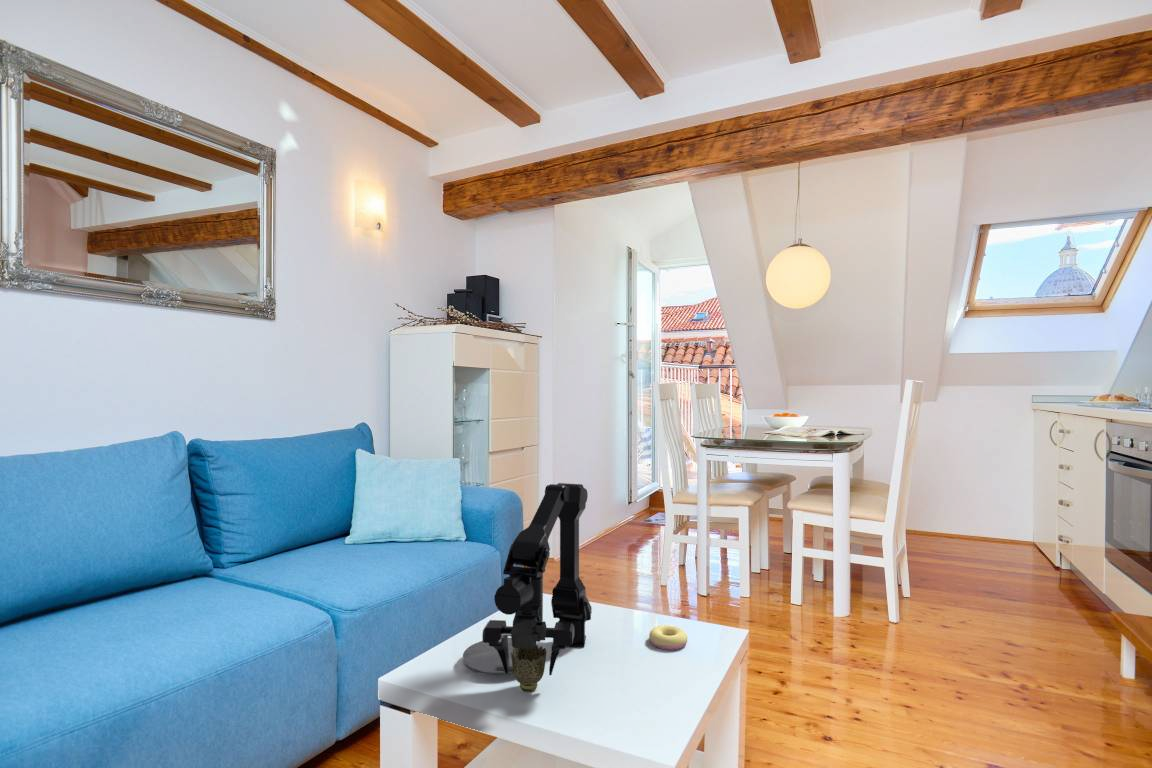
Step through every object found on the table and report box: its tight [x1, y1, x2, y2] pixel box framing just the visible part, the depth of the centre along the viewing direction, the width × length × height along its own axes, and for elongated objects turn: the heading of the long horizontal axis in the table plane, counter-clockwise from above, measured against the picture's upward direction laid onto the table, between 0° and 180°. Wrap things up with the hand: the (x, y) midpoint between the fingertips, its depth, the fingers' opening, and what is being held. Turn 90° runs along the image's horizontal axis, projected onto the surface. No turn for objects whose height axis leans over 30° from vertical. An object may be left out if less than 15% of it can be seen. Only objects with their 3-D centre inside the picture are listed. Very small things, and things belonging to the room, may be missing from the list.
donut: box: [648, 624, 688, 650], centre depth 150 cm, size 10×5×9 cm
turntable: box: [462, 637, 541, 676], centre depth 138 cm, size 18×18×4 cm
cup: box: [511, 644, 547, 693], centre depth 126 cm, size 8×7×8 cm
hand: (528, 673), depth 126 cm, fingers open, 9 cm apart
